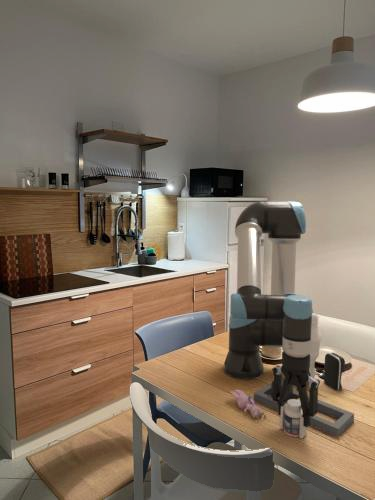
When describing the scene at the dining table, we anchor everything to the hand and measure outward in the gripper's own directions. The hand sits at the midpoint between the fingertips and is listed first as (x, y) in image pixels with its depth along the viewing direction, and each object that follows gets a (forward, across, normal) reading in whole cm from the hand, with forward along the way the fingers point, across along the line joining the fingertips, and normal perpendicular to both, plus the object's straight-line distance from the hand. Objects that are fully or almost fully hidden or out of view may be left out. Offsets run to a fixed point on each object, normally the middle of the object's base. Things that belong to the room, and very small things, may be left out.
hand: (293, 431), depth 108 cm
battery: (0, -4, +35) cm, 35 cm away
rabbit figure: (+1, -16, 0) cm, 17 cm away
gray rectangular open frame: (0, -4, +12) cm, 13 cm away
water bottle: (0, -14, +32) cm, 35 cm away
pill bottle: (0, 0, 0) cm, 1 cm away
